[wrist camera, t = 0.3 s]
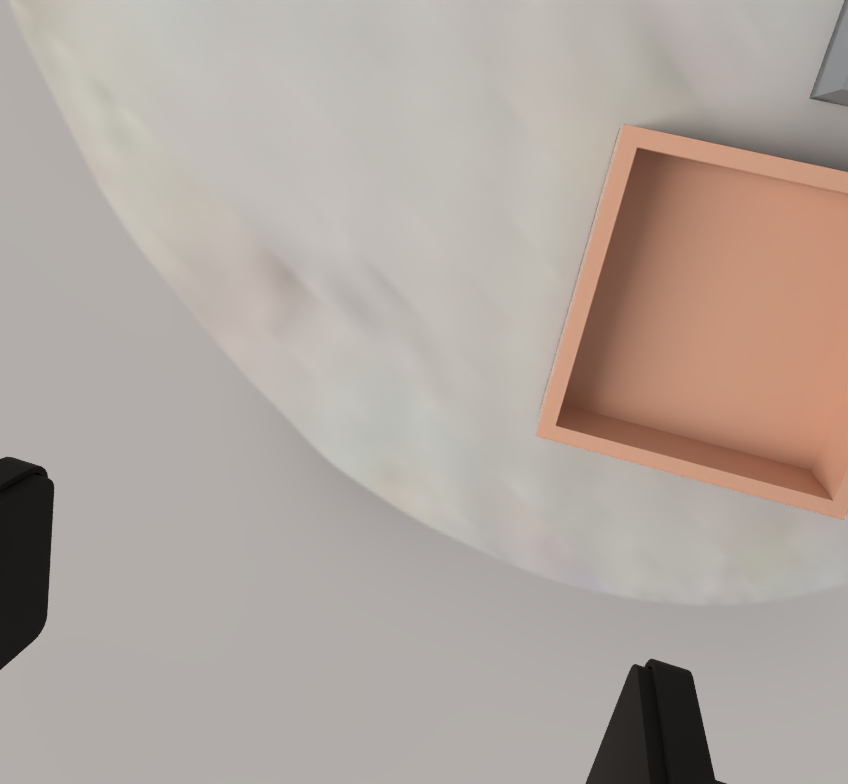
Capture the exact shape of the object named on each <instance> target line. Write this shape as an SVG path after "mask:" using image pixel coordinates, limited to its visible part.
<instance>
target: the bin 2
mask: <svg viewBox="0 0 848 784" xmlns="http://www.w3.org/2000/svg"><path fill="white" fill-rule="evenodd" d="M810 98H811V99H816V100H820V101H825V102H830V103H835V104H840V105H845V106H848V0H845V1H844V4H843V7H842V9H841V12H840V15H839V18H838V21H837V23H836V26H835V29H834V32H833V34H832V37H831V40H830V43H829V45H828V48H827V51H826V54H825V57H824V59H823V62H822V65H821V68H820V70H819V73H818V76H817V79H816V81H815V84H814V87H813V90H812V93H811V95H810Z"/></svg>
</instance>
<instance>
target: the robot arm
mask: <svg viewBox="0 0 848 784" xmlns="http://www.w3.org/2000/svg"><path fill="white" fill-rule="evenodd" d="M53 500H54V484H53V482H52V480H50V479H49V478H48V475H47V472H46V470H45V469H44V468H43V467H41V466H38V465H35V464H32V463H29V462H25V461H22V460H19V459H16V458H13V457H5V458H2V459H0V670H1V669H2V668H3V667H4V666H5V665H6V664H8V663H9V662H10V661H11V660H12V659H13V658H15V657H16V656H17V655H18V654H19V653H20V652H21V651H22V650H24V649H25V648H26V647H27V646H28V645H29V644H30V643H32V642H33V641H34V640H35V639H36V638H37V637H38V635H39V634H40V633H41V631H42V629H43V627H44V625H45V622H46V619H47V609H48V590H49V572H50V555H51V537H52V519H53ZM586 784H726V783H722V782H720V781H717V780H715V777H714V772H713V768H712V763H711V758H710V754H709V749H708V744H707V740H706V736H705V731H704V727H703V722H702V717H701V713H700V708H699V703H698V699H697V694H696V689H695V685H694V680H693V676H692V674H691V672H690V671H689V670H686V669H683V668H680V667H676V666H673V665H670V664H667V663H664V662H661V661H657V660H654V659H650V660H649V661H648V662H647V663H646V665H645V667H642V666H639V665H636V664H634V665H633V666H632V667H631V670H630V671H629V674H628V676H627V679H626V681H625V684H624V687H623V689H622V692H621V694H620V697H619V699H618V702H617V704H616V707H615V710H614V712H613V715H612V717H611V720H610V722H609V725H608V727H607V730H606V733H605V735H604V738H603V740H602V743H601V745H600V748H599V751H598V753H597V756H596V758H595V761H594V763H593V766H592V769H591V771H590V774H589V776H588V779H587V781H586Z"/></svg>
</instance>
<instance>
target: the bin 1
mask: <svg viewBox="0 0 848 784" xmlns="http://www.w3.org/2000/svg"><path fill="white" fill-rule="evenodd" d="M536 436H537V437H541V438H544V439H548V440H552V441H555V442H559V443H563V444H566V445H570V446H574V447H577V448H581V449H585V450H588V451H592V452H596V453H599V454H603V455H607V456H610V457H614V458H618V459H621V460H625V461H629V462H632V463H636V464H640V465H643V466H647V467H651V468H654V469H658V470H662V471H665V472H669V473H673V474H676V475H680V476H684V477H687V478H691V479H695V480H698V481H702V482H706V483H709V484H713V485H717V486H720V487H724V488H728V489H731V490H735V491H739V492H742V493H746V494H750V495H753V496H757V497H761V498H764V499H768V500H772V501H775V502H779V503H783V504H786V505H790V506H794V507H797V508H801V509H805V510H808V511H812V512H816V513H819V514H823V515H827V516H830V517H834V518H838V519H841V520H844V518H845V516H846V514H847V512H848V172H845V171H840V170H835V169H831V168H826V167H821V166H817V165H812V164H808V163H803V162H798V161H794V160H789V159H784V158H780V157H775V156H770V155H766V154H761V153H756V152H752V151H747V150H742V149H738V148H733V147H728V146H724V145H719V144H714V143H710V142H705V141H701V140H696V139H691V138H687V137H682V136H677V135H673V134H668V133H663V132H659V131H654V130H649V129H645V128H640V127H635V126H631V125H626V124H624V125H623V126H622V127H621V128H619V131H618V135H617V138H616V142H615V145H614V149H613V152H612V156H611V160H610V163H609V167H608V170H607V174H606V177H605V181H604V184H603V188H602V191H601V195H600V198H599V202H598V206H597V209H596V213H595V216H594V220H593V223H592V227H591V230H590V234H589V237H588V241H587V244H586V248H585V252H584V255H583V259H582V262H581V266H580V269H579V273H578V276H577V280H576V283H575V287H574V290H573V294H572V298H571V301H570V305H569V308H568V312H567V315H566V319H565V322H564V326H563V329H562V333H561V336H560V340H559V343H558V347H557V351H556V354H555V358H554V361H553V365H552V368H551V372H550V375H549V379H548V382H547V386H546V389H545V393H544V397H543V400H542V404H541V407H540V413H539V419H538V425H537V431H536Z"/></svg>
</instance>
